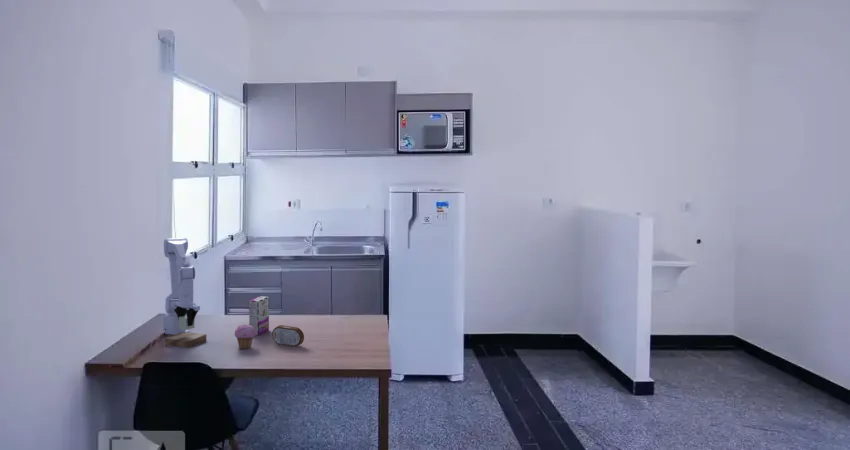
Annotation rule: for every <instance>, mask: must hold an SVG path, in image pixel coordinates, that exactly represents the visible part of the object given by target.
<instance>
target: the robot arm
mask: <svg viewBox="0 0 850 450" xmlns="http://www.w3.org/2000/svg"><path fill="white" fill-rule="evenodd" d="M188 249H189V240H188V238H187V237H174V238H173V237H172V238H171V237H170V238H168V237H166V238H164V239H163V255H164V257H166V258H168V261H169V271H170V287H171V288H170V289H171V293H170V294H168V295H167V296H166V297H165V305H164V306H165V307H164V308H165V314H164V316H163V320H162V332H163V331H165V332H166V333H165V334H166V335H172V336H173V335H175V334H178V333H181V332H191V329H188V330H184V329H179V317H182V316H186V315H187V323H188V326H192V325H193V322H194V323H195V318H196V316H197V314H198V312H199V311H200V310H201V306H200V305H198V304H196V302H194V280H195V277H196V269H195V267H194V265H193V264H192V263H191V261H190V258H189V257H188V256H187V255H186V254H187V252H188ZM165 334H164V335H165Z"/></svg>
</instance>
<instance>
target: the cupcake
mask: <svg viewBox="0 0 850 450" xmlns="http://www.w3.org/2000/svg"><path fill="white" fill-rule="evenodd" d="M255 334H256V333H255V329H254V327H253V326H251V325H249V324H240V325H238V326H237V328H236V329H235V330H234V336H235V338H236V339H237V343H238V344H237V345H238V348H239V349H241V350H245V349H250V348H251V347H252V343H253V339H254V338H255Z"/></svg>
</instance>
